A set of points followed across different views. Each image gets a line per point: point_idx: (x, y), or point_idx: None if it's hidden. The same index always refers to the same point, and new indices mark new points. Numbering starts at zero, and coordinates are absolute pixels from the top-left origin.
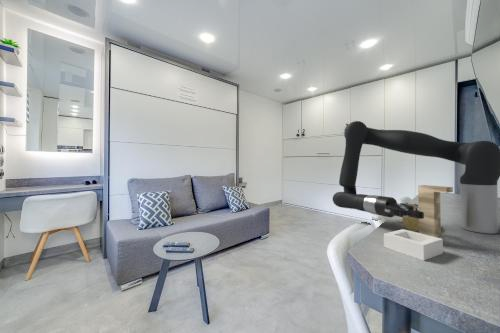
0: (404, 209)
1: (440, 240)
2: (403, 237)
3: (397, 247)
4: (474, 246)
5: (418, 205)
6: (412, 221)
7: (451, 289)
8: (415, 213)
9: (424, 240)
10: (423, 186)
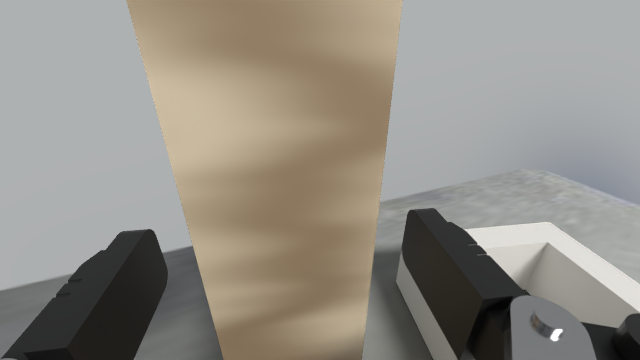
0: (586, 337)
1: None
2: (616, 292)
3: None
4: (182, 284)
5: (376, 210)
6: None
7: (542, 196)
8: (474, 248)
9: (509, 243)
10: None
